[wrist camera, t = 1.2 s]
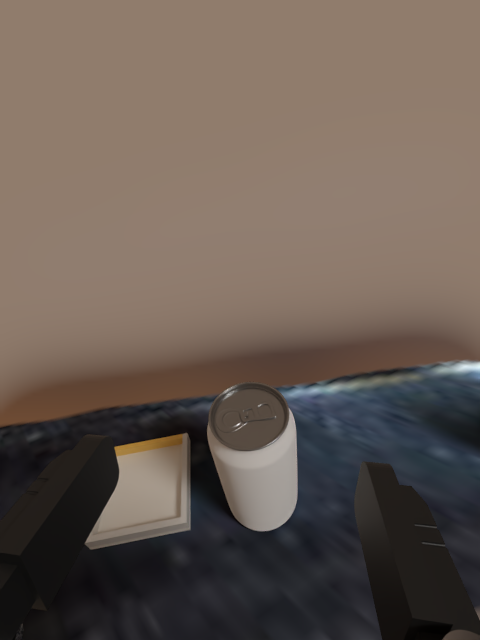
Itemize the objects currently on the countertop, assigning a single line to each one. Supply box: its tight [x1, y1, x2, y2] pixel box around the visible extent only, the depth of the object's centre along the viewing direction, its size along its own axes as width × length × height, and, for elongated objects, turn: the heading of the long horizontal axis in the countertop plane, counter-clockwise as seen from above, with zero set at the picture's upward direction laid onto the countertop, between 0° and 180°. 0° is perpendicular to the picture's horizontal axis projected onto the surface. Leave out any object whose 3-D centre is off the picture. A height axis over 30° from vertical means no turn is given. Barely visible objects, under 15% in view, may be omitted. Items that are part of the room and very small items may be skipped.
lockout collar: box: [85, 433, 190, 550], centre depth 29 cm, size 9×9×2 cm
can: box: [207, 382, 297, 531], centre depth 25 cm, size 6×6×12 cm
